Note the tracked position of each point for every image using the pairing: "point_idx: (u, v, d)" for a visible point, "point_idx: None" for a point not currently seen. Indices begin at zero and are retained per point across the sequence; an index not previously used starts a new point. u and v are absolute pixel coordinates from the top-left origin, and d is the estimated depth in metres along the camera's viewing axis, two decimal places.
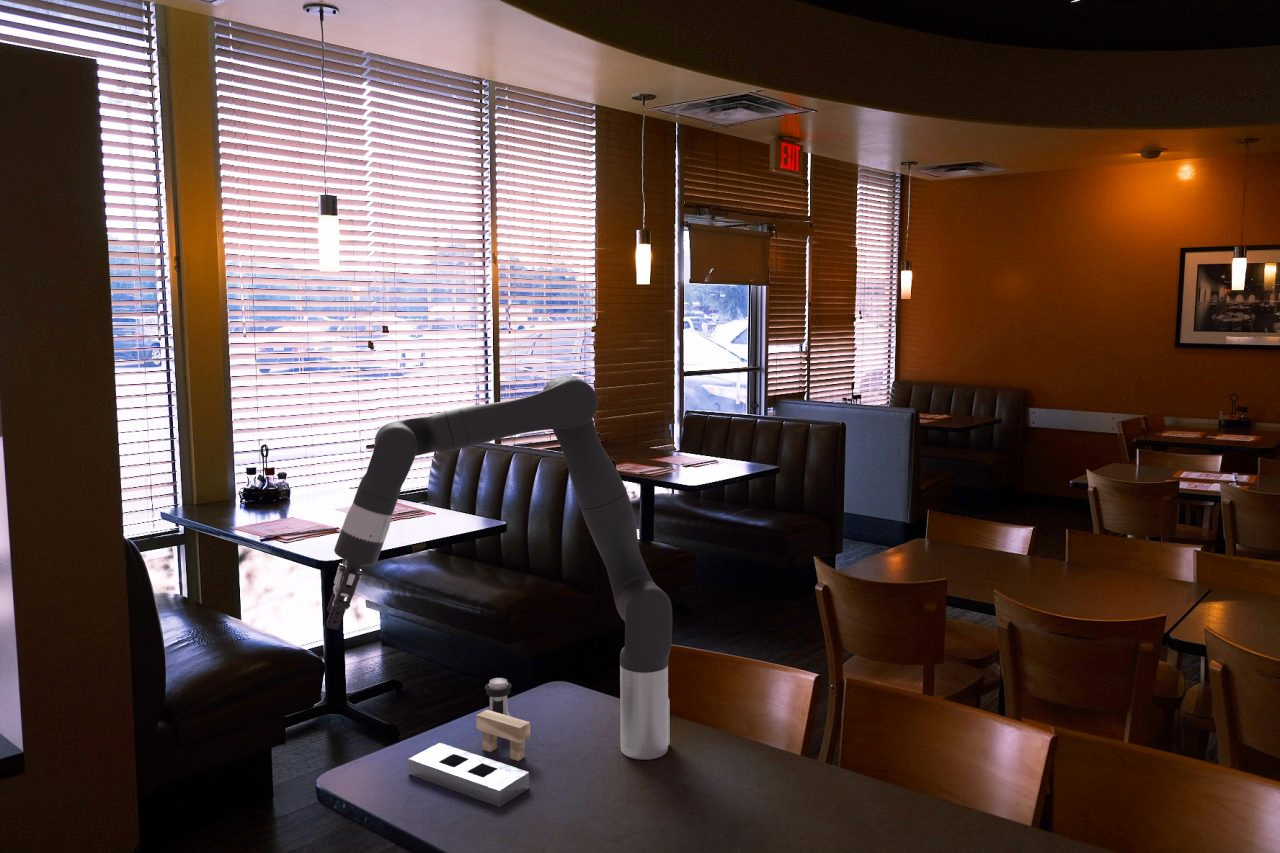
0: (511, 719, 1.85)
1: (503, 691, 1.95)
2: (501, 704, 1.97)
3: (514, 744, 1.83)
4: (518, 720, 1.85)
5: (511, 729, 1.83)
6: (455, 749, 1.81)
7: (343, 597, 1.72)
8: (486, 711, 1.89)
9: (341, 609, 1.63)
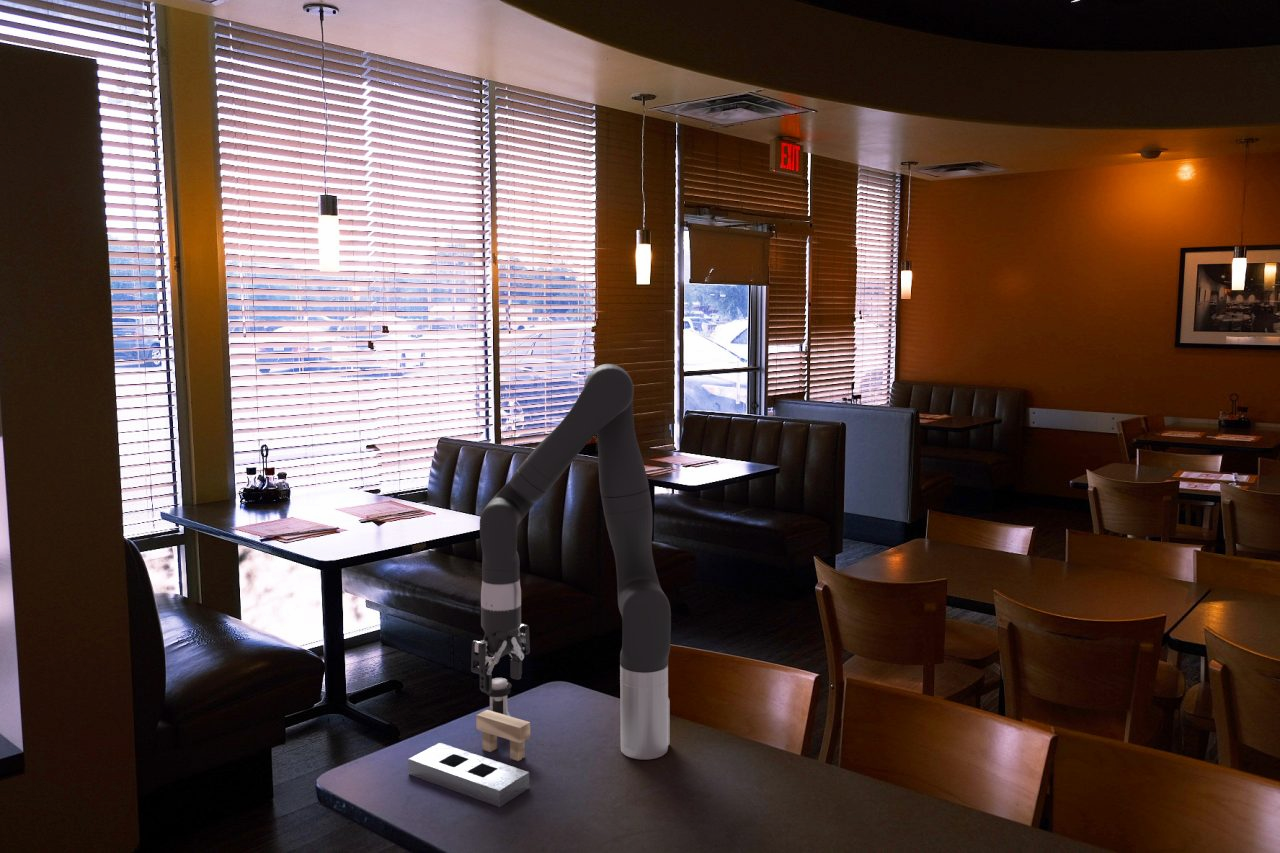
0: (511, 719, 1.85)
1: (503, 691, 1.95)
2: (501, 704, 1.97)
3: (514, 744, 1.83)
4: (518, 720, 1.85)
5: (511, 729, 1.83)
6: (455, 749, 1.81)
7: (517, 663, 1.87)
8: (486, 711, 1.89)
9: (483, 675, 1.80)
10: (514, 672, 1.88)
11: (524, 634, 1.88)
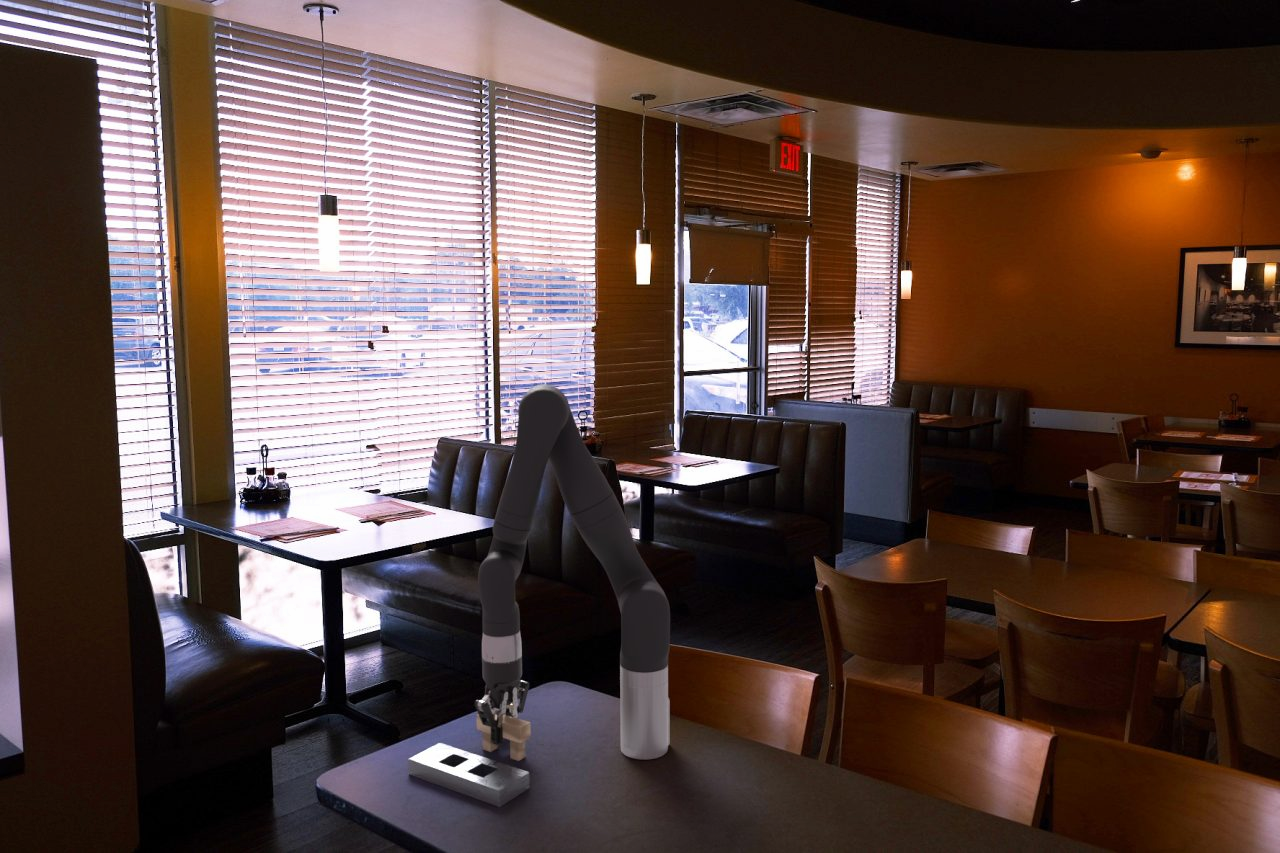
0: (511, 718, 1.85)
1: None
2: None
3: (514, 744, 1.83)
4: (518, 720, 1.85)
5: (511, 728, 1.83)
6: (455, 749, 1.81)
7: None
8: None
9: (494, 727, 1.83)
10: None
11: (523, 689, 1.89)
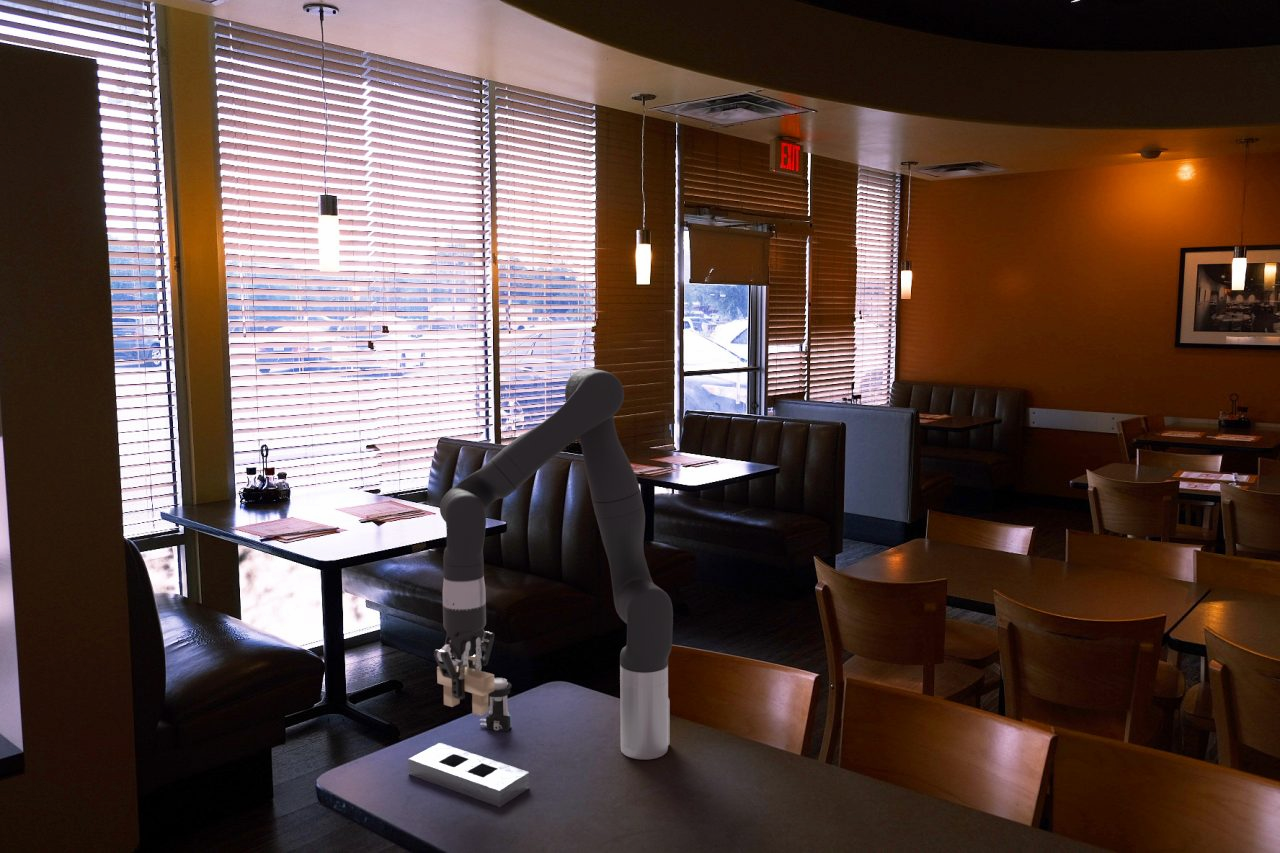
0: (473, 671, 1.73)
1: (503, 691, 1.95)
2: (501, 704, 1.97)
3: (477, 698, 1.71)
4: (481, 672, 1.72)
5: (473, 681, 1.70)
6: (455, 749, 1.81)
7: None
8: None
9: (455, 679, 1.70)
10: None
11: (488, 641, 1.76)
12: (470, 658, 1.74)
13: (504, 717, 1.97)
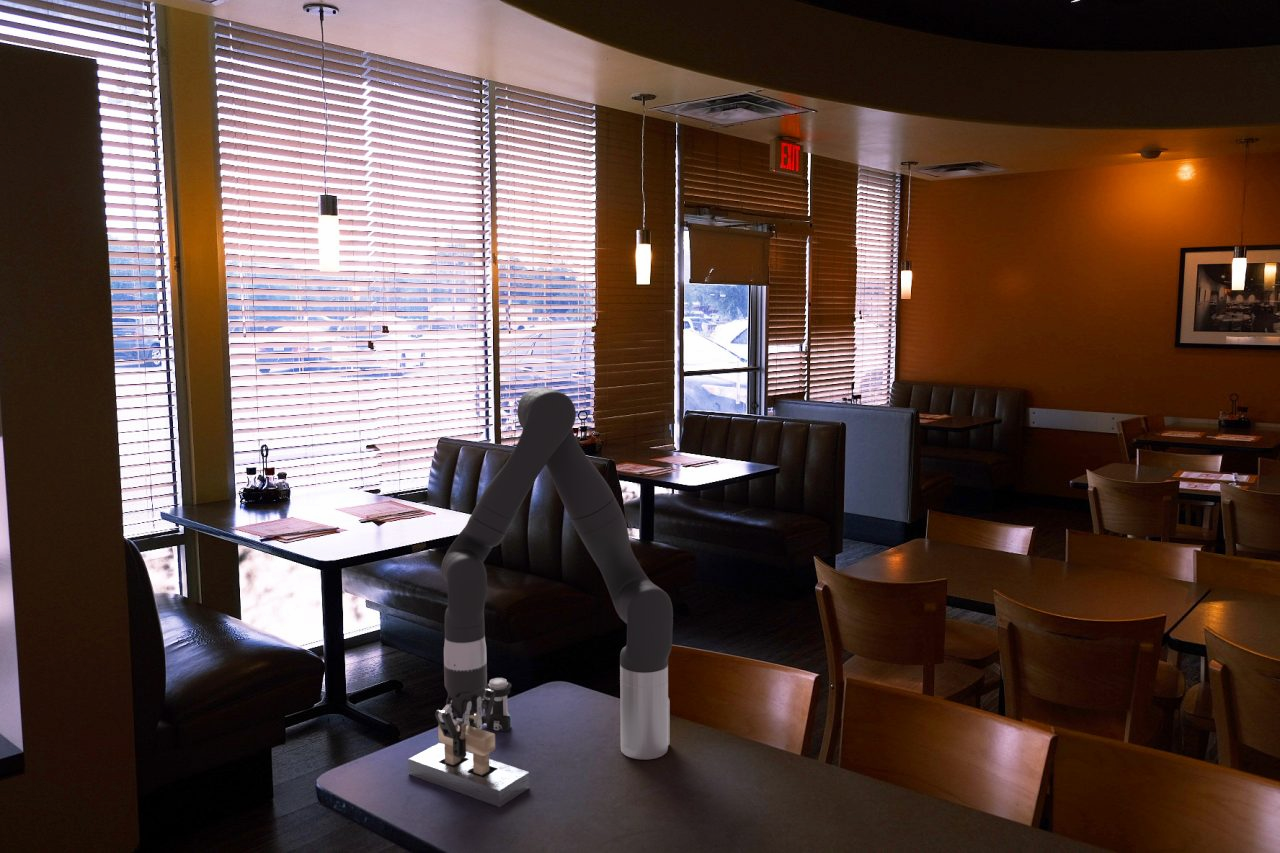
0: (474, 730, 1.74)
1: (503, 691, 1.95)
2: (501, 704, 1.97)
3: (478, 757, 1.72)
4: (482, 731, 1.73)
5: (474, 740, 1.71)
6: None
7: None
8: None
9: (456, 739, 1.72)
10: None
11: (489, 699, 1.77)
12: (471, 717, 1.75)
13: (504, 717, 1.97)
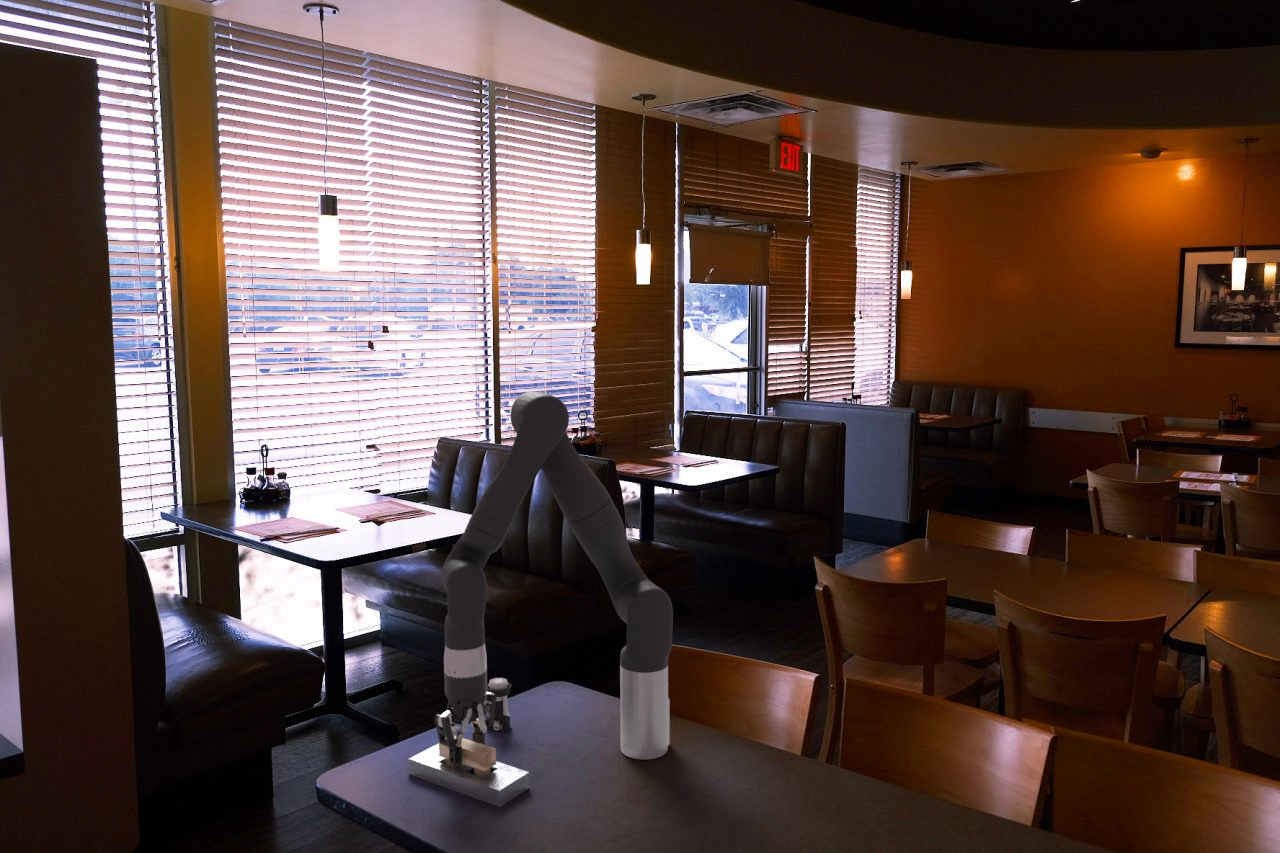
0: (475, 744, 1.74)
1: (503, 691, 1.95)
2: (501, 704, 1.97)
3: (479, 772, 1.72)
4: (483, 746, 1.74)
5: (475, 756, 1.72)
6: None
7: (480, 736, 1.76)
8: None
9: (452, 747, 1.71)
10: None
11: (490, 703, 1.78)
12: (474, 722, 1.76)
13: (504, 717, 1.97)
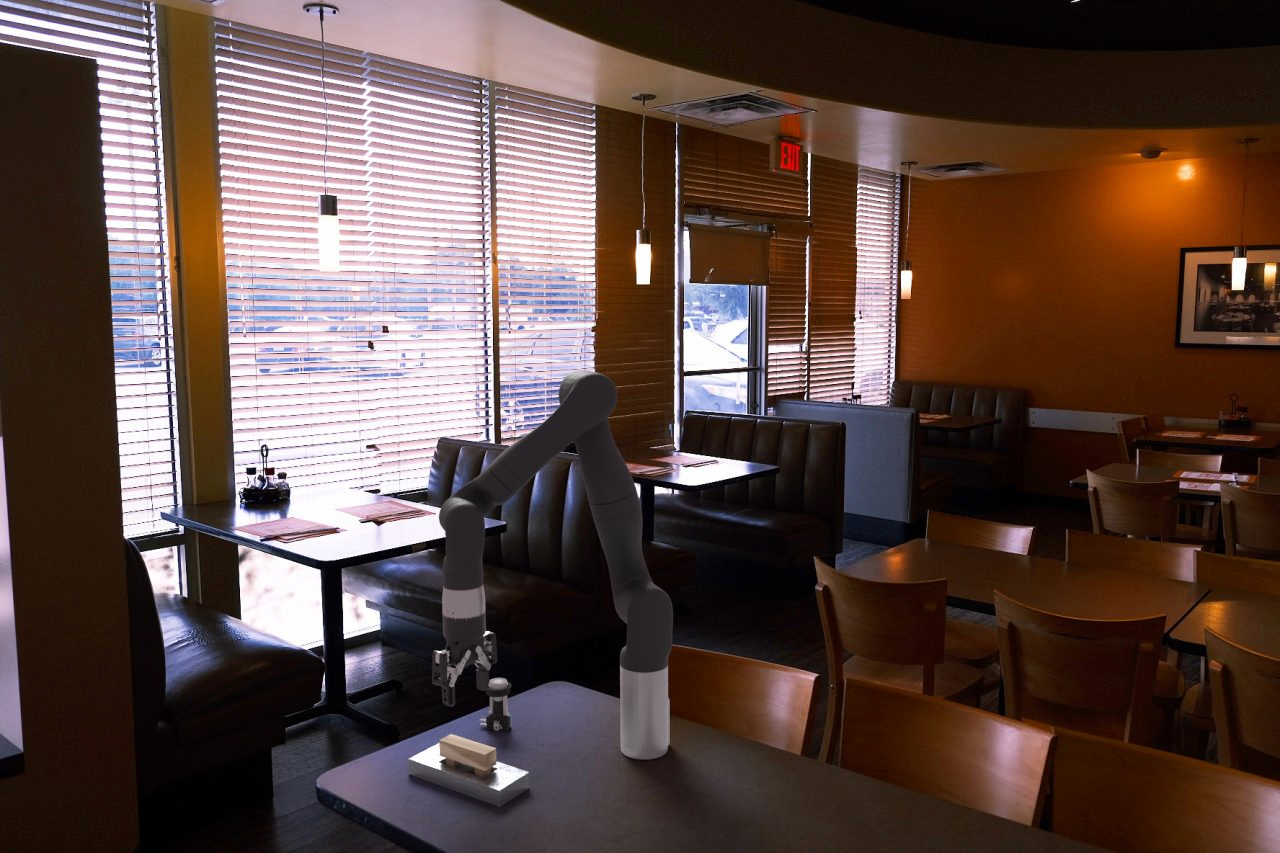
0: (476, 744, 1.74)
1: (503, 691, 1.95)
2: (501, 704, 1.97)
3: (479, 771, 1.72)
4: (483, 746, 1.74)
5: (475, 755, 1.72)
6: None
7: (484, 673, 1.76)
8: (450, 736, 1.78)
9: (445, 687, 1.68)
10: (481, 683, 1.77)
11: (490, 642, 1.76)
12: (477, 661, 1.75)
13: (504, 717, 1.97)
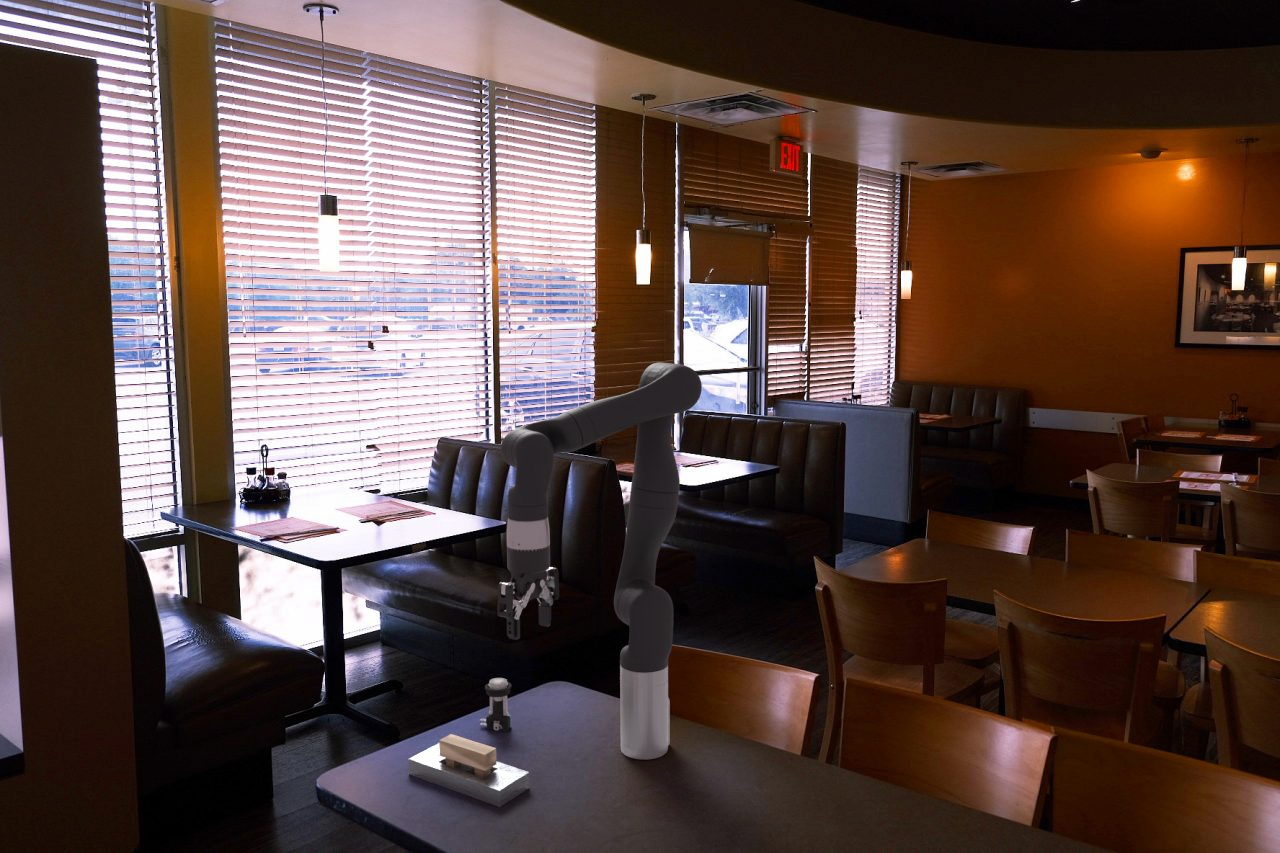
0: (476, 744, 1.74)
1: (503, 691, 1.95)
2: (501, 704, 1.97)
3: (479, 771, 1.72)
4: (483, 746, 1.74)
5: (475, 755, 1.72)
6: None
7: (546, 608, 1.74)
8: (450, 736, 1.78)
9: (510, 619, 1.67)
10: (543, 618, 1.75)
11: (553, 577, 1.75)
12: (539, 596, 1.74)
13: (504, 717, 1.97)
